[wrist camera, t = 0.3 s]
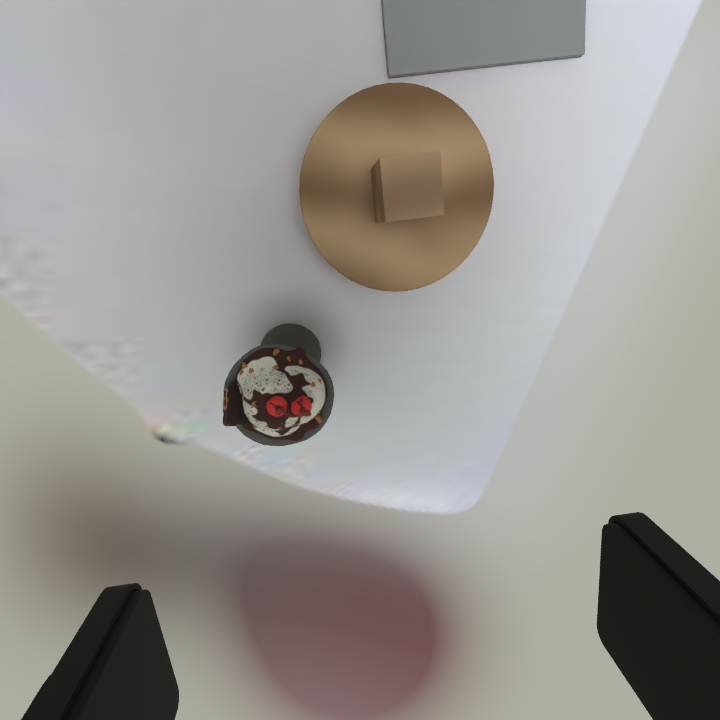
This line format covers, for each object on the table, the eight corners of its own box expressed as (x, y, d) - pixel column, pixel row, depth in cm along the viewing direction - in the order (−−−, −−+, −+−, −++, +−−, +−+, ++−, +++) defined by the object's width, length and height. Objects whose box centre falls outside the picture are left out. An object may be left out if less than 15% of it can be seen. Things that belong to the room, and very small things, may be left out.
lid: (285, 99, 28) (275, 66, 22) (484, 77, 28) (525, 39, 22) (315, 300, 31) (313, 316, 26) (491, 277, 32) (528, 288, 26)
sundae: (346, 337, 37) (360, 407, 23) (306, 403, 39) (295, 508, 24) (274, 297, 36) (242, 344, 22) (235, 367, 37) (180, 455, 23)
